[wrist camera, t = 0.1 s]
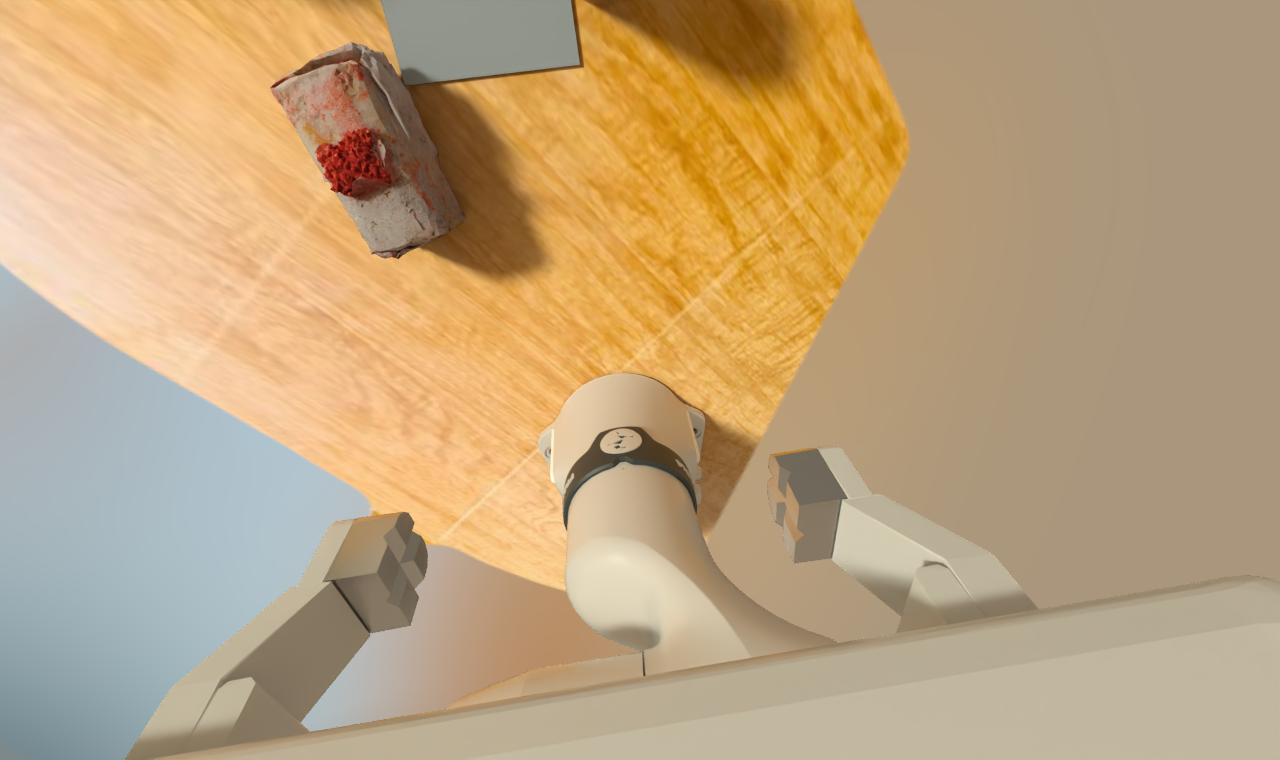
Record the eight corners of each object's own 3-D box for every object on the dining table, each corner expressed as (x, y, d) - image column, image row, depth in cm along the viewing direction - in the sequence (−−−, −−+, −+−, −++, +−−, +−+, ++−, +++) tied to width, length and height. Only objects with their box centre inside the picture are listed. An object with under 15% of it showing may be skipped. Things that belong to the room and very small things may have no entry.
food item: (307, 89, 40) (227, 80, 31) (396, 47, 39) (340, 24, 30) (406, 250, 46) (363, 279, 37) (484, 215, 45) (459, 237, 36)
